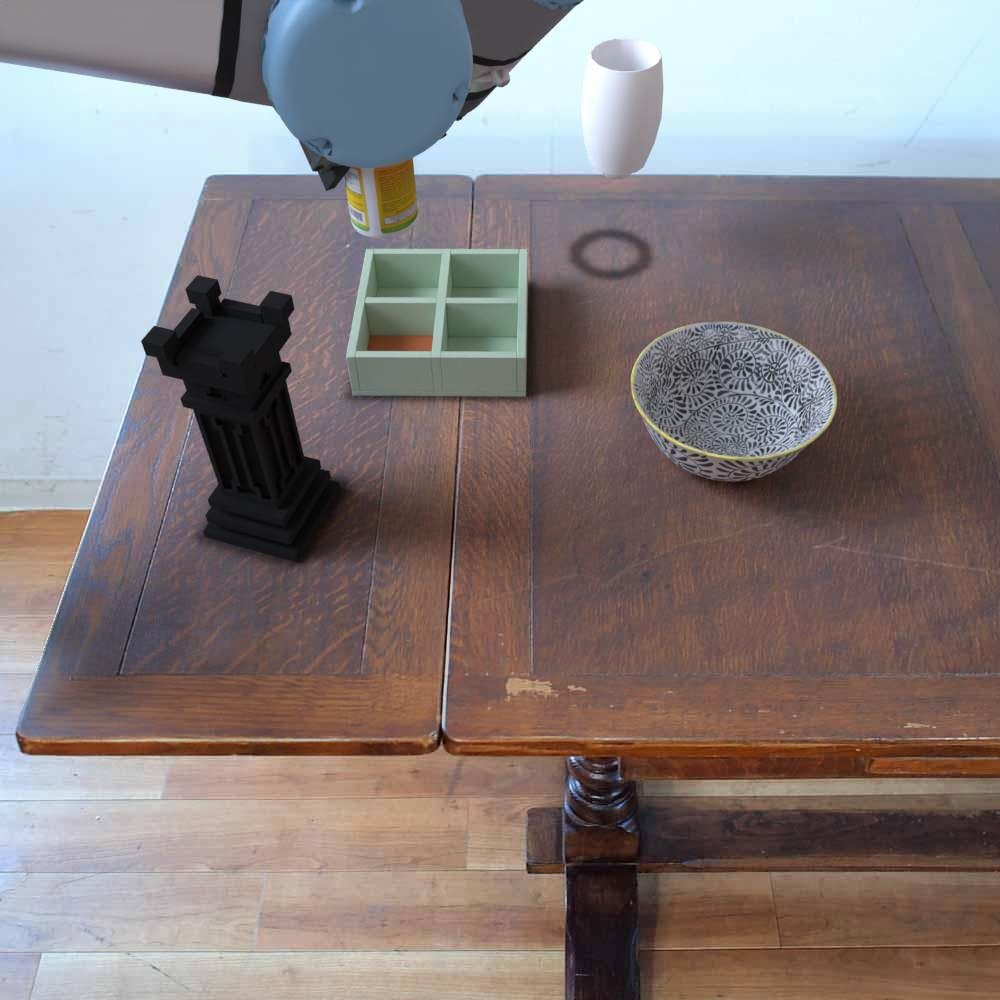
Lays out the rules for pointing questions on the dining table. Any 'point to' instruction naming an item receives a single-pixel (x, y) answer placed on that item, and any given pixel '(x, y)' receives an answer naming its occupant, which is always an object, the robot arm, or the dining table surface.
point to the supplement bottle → (382, 199)
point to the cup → (621, 105)
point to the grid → (440, 323)
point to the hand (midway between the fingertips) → (357, 160)
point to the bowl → (731, 398)
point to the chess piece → (246, 419)
